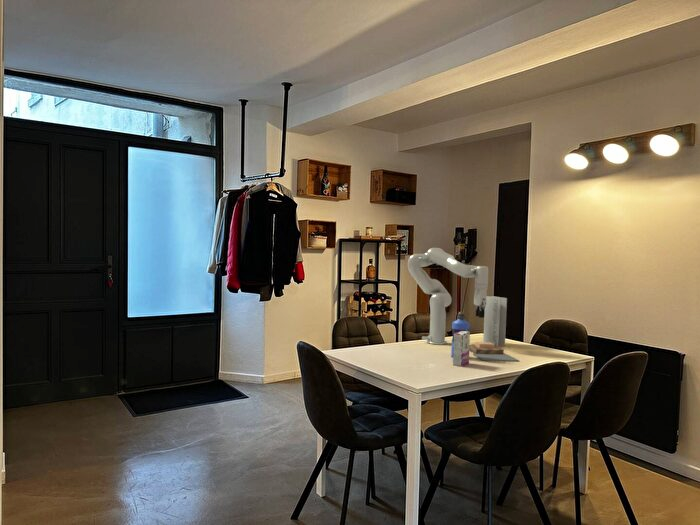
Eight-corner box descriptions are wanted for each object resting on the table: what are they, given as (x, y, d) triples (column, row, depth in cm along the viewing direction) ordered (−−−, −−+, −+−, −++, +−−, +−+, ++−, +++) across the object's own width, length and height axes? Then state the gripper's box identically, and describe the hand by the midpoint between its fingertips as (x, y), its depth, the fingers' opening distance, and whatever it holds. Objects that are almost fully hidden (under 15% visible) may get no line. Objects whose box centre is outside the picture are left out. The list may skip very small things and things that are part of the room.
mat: (482, 360, 282) (483, 359, 282) (473, 354, 297) (473, 353, 297) (519, 361, 284) (519, 360, 284) (507, 355, 299) (507, 354, 299)
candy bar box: (460, 361, 277) (461, 330, 277) (469, 363, 274) (470, 331, 274) (452, 365, 268) (453, 333, 267) (461, 366, 265) (463, 334, 265)
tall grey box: (483, 342, 341) (485, 296, 340) (489, 342, 343) (491, 296, 343) (497, 346, 328) (500, 298, 328) (504, 346, 331) (506, 298, 330)
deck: (476, 354, 298) (476, 349, 298) (468, 350, 311) (468, 345, 311) (503, 355, 300) (503, 349, 300) (494, 350, 313) (495, 345, 313)
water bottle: (447, 356, 289) (449, 311, 289) (456, 354, 296) (458, 310, 295) (462, 359, 283) (464, 313, 282) (471, 357, 290) (473, 312, 289)
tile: (479, 347, 303) (479, 344, 303) (475, 345, 310) (475, 341, 310) (494, 348, 304) (494, 344, 304) (490, 345, 311) (490, 342, 311)
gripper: (470, 285, 325) (469, 315, 325) (480, 287, 308) (478, 318, 308) (482, 285, 325) (481, 315, 326) (492, 287, 308) (491, 319, 309)
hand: (479, 316), depth 317 cm, fingers open, 4 cm apart
